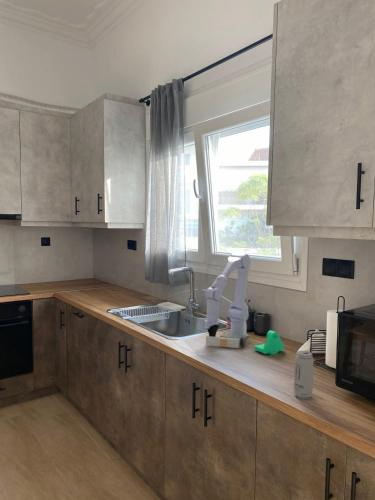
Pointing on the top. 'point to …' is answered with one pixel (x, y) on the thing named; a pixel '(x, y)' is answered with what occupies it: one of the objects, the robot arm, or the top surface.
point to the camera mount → (271, 344)
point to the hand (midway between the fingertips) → (212, 340)
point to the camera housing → (234, 337)
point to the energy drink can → (303, 375)
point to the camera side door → (222, 342)
